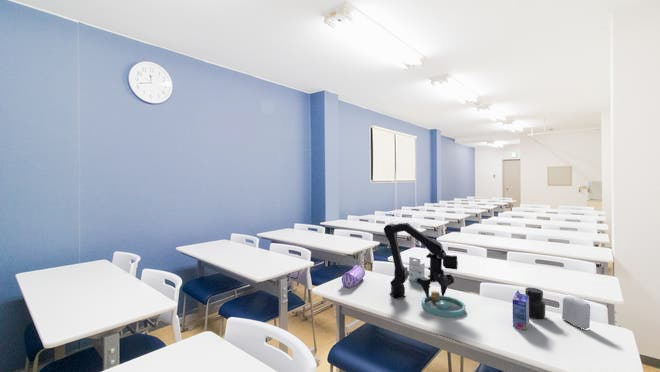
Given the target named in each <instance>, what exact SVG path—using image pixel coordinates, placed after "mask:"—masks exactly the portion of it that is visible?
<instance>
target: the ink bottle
mask: <svg viewBox="0 0 660 372" xmlns="http://www.w3.org/2000/svg"><path fill="white" fill-rule="evenodd" d="M524 295H528V296H529V318H531V317H532V318H531V319H538V320H543V318H544V319H545V318H546V303H545V302H544V300H543V299H544V291H543V290H542V289H539V288H536V287H526V288H525V294H524Z"/></svg>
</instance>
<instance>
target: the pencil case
mask: <svg viewBox="0 0 660 372" xmlns="http://www.w3.org/2000/svg"><path fill="white" fill-rule="evenodd" d="M365 275H366V270H365V268H364V267H363V266H361V264H360V263H356V265H354V266H353V267H352V268H351V269H350V270H349V271H347V272H344V274H342V276H341V283H342V286H343V287H345V288H348V289H352V288H353V287H355V286H356V285H357V284H358V283H360V282H361V280H362V279H364V277H365Z"/></svg>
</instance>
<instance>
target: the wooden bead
mask: <svg viewBox="0 0 660 372" xmlns="http://www.w3.org/2000/svg"><path fill="white" fill-rule="evenodd" d="M440 293H441V292H439V291H435V290H433V291H431V294H430V295H431V301H432V302H434V303H436V301H437V300H439V295H441V294H440Z"/></svg>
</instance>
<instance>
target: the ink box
mask: <svg viewBox="0 0 660 372" xmlns="http://www.w3.org/2000/svg"><path fill="white" fill-rule="evenodd" d="M408 259H409V261H408V262H409V263H408V273H409V275H408V280H409V281H412V282H415V283H417V279H418V278H419V277H425V262H421V259H419V258H417V257H416V258H415V257H412V256H409V258H408Z"/></svg>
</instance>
